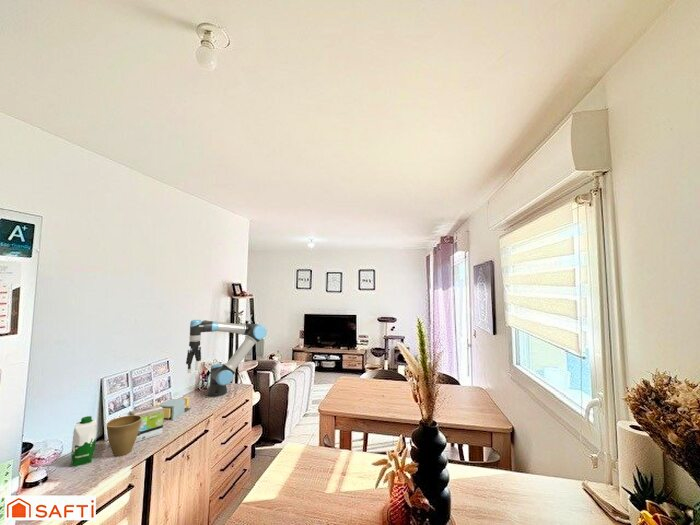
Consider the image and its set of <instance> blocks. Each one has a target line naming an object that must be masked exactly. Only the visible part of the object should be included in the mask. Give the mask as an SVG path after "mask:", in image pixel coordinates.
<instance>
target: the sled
mask: <svg viewBox="0 0 700 525" xmlns="http://www.w3.org/2000/svg"><path fill="white" fill-rule="evenodd" d="M182 399H184V400H185V408H186V407H187V408H189V407H190V399H191V398H190V397H189V396H185V397H183V398H182ZM188 406H189V407H188ZM170 417H171V418H172V408H171V407H164V419H165V418H170ZM171 418H170V419H171Z"/></svg>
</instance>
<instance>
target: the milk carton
mask: <svg viewBox="0 0 700 525" xmlns="http://www.w3.org/2000/svg"><path fill="white" fill-rule="evenodd" d="M97 430H98V424H97V419H96V418H95V419H94V418H93V419H92V416H91V415H89V416H88V415H87V416H83V417H82V418H81V419H80V421H77V422H76V424H75V426H74V429H73V432H72V444H71V445H72V446H71V467H72V468H74V467H79V466H84V465H87V464H91V463H92V461H93V457H94V453H95V449H96V443H97V442H96V441H97Z"/></svg>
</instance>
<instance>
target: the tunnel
mask: <svg viewBox="0 0 700 525" xmlns="http://www.w3.org/2000/svg"><path fill="white" fill-rule="evenodd" d="M158 405H159V406H161V407H162V408H164V407H171V408H172V417H170V418H164V420H163V423H165V422H166V421H168V420H170V419H171V420H170V421H175V420H177V419H178V418H179V417H181V416H183V415H184V414H186V413H187V412H188V411H190V410H191V409H192V408H191V407H190V405H189V406H188V407H186V408H185V400H184V399H183V398H182V399H181V398H180V399H179V398H169V399H168V400H166V401H165V402H163V403H160V404H158Z"/></svg>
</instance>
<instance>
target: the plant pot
mask: <svg viewBox="0 0 700 525" xmlns="http://www.w3.org/2000/svg"><path fill="white" fill-rule="evenodd" d="M141 419H142V417H141V416H138V415H130V416H129V415H124V416H119V417H116V418H114V419H112V420H110V421H107V423H106V432H107V433H106V434H107V439H108V443H109V446H110V450H111V453H112V454H113V456H114V457H122V456H126V455H128V454H130V453H131V452H132V450H133V447H134V445H135V443H136V442H135V440H136V438H137V435H138V431H139V428H140V423H141Z"/></svg>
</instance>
